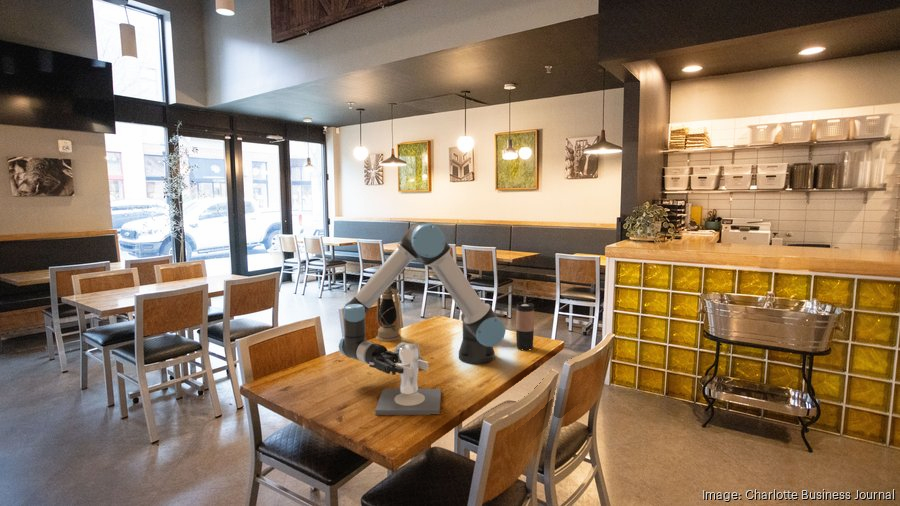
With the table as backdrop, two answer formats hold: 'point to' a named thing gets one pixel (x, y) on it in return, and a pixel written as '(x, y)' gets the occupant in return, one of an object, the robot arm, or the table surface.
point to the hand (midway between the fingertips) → (419, 369)
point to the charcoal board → (409, 402)
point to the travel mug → (525, 326)
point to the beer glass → (409, 358)
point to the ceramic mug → (401, 344)
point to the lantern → (388, 316)
